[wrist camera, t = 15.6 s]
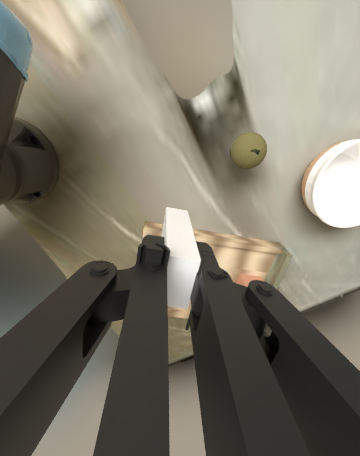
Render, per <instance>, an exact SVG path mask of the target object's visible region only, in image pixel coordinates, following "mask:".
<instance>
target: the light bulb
mask: <svg viewBox="0 0 360 456" xmlns="http://www.w3.org/2000/svg"><path fill="white" fill-rule="evenodd" d="M230 152H231V157H232V160H233V162H234V163H235V164H236V165H237V166H239V167H241V168H245V169H249V168H253V167H256V166H257V165H259V164H260V163H261V162H262V161H263V159H264V158H265V156H266V152H267V145H266V142H265V140H264V138H263V137H262V136H261V135H259V134H257V133H254V132H247V133H244V134H241V135H240V136H238V137H237V138H236V139H235V141H234V142H233V144H232V145H231V147H230Z"/></svg>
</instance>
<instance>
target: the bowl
mask: <svg viewBox="0 0 360 456" xmlns="http://www.w3.org/2000/svg"><path fill="white" fill-rule="evenodd" d="M301 188H302V196H303V200H304V203H305V205H306V206H307V208H308V209H309V210H310V211H311V212H312V213H313V214H314V215H316V216H317V217H319V218H320V219H321V220H322V221H323V222H324V223H326V224H327V225H330V226H333V227H337V228H349V227H354V226H358V225H360V139H358V140H349V141H344V142H341V143H337V144H335V145H333V146H331V147H329V148H327V149H326V150H325V151H323V152H322V153H320V154H319V155H318V156H317V157H316V158H315V159H314V160H313V161H312V162H311V164H310V165H309V166H308V168H307V170H306V172H305V174H304V177H303V180H302V186H301Z"/></svg>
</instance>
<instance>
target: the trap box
mask: <svg viewBox="0 0 360 456" xmlns="http://www.w3.org/2000/svg"><path fill="white" fill-rule="evenodd" d="M162 229H163V224H158V223H151V222H145V225H144V230H143V237H145V236H146V235H154V236H161V234H162ZM193 233H194V237H195V240H196V241H198V242H205V243H207V244H209V245H210V246H211V247H212V250H213V252H214V255H215V257H216V259H217V262H218V264H219V267H220V268H222V269H224V270H225V271H226V272H228V274H229V275H230V276H231V279H232V281H233V282H235V283H236V281H237V278H238V276H239V274H245V275H253V276H260V277H262V279H263V280H264V281H265V282H267V283H268V284H270V285H272V286H273V287H275V288H276V289H278V287H279V284H280V282H281V280H282V278H283V276H284V273H285V271H286V269H287V267H288V265H289V262H290V260H291V258H292V255H291V254H290V253H289V252H288V251H287V250H286V249H285V248H284V247H283V246H282V245H281V244H280V243H279V242H272V241H266V240H260V239H253V238H247V237H240V236H234V235H228V234H221V233H215V232H209V231H202V230H196V229H193ZM142 240H143V239H142ZM190 310H191V301H190V303H189V307H188V309H185V308H176V307H168V317H177V318H187V319H188V318H189V314H190Z"/></svg>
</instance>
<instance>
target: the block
mask: <svg viewBox="0 0 360 456" xmlns="http://www.w3.org/2000/svg"><path fill="white" fill-rule="evenodd" d="M252 280H261V281H264V280H263V279H262V277H260V276H253V275H245V274H239V276H238V278H237V281H236V283H237V284H240V285H243V286H246V287H248V284H249V282H250V281H252Z"/></svg>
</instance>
